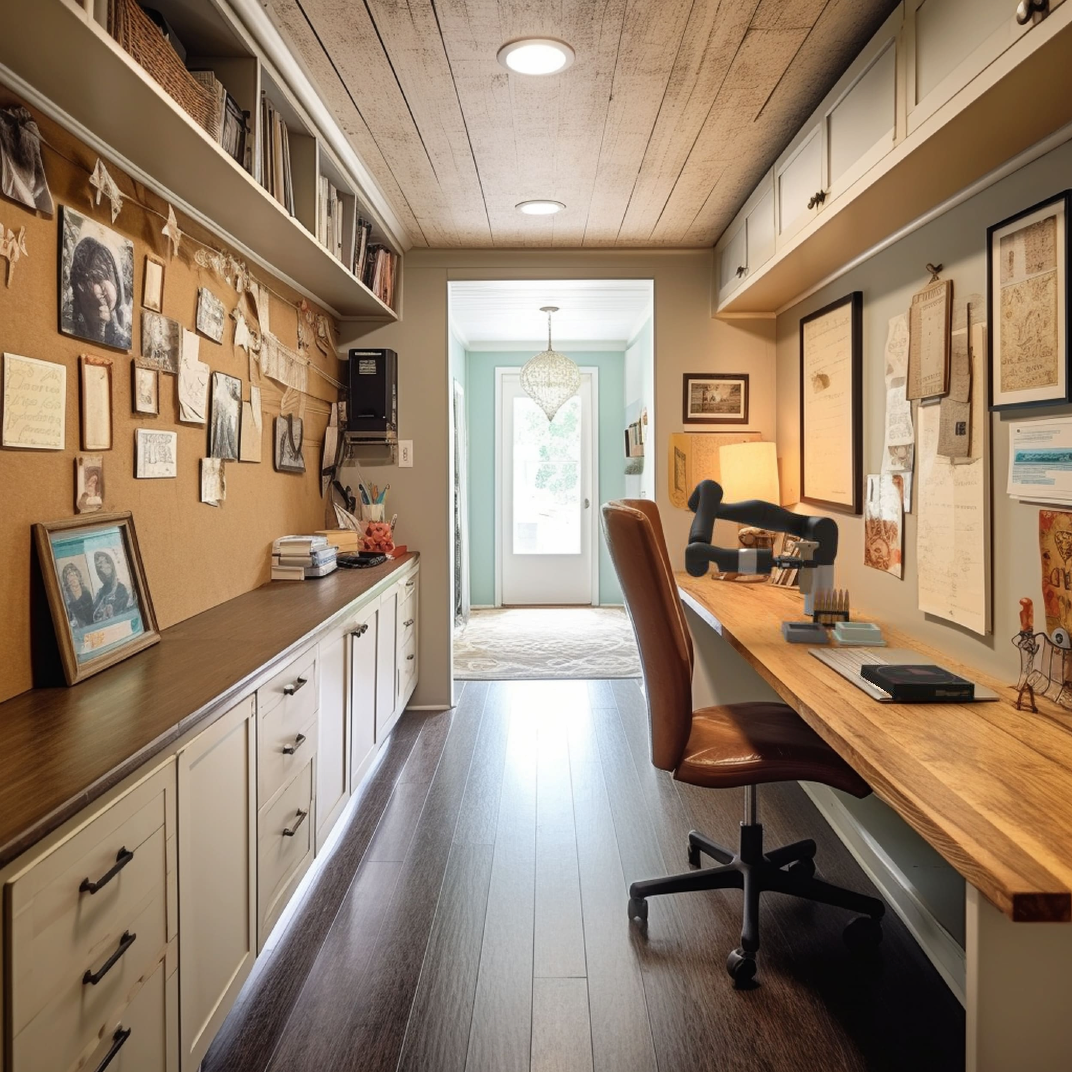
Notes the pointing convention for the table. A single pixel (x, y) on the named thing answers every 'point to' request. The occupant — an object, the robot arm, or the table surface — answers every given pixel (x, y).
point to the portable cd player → (919, 682)
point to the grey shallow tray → (858, 634)
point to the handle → (806, 573)
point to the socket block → (804, 632)
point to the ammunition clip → (828, 615)
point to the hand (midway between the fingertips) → (816, 563)
